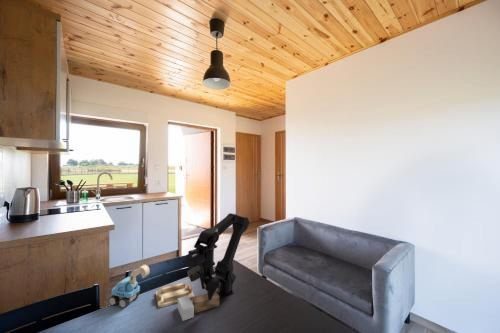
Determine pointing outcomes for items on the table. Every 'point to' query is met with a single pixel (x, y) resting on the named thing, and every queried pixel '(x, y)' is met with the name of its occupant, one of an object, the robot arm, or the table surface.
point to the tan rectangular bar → (205, 302)
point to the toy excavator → (128, 288)
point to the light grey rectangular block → (185, 308)
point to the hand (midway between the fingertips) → (206, 294)
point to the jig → (173, 294)
